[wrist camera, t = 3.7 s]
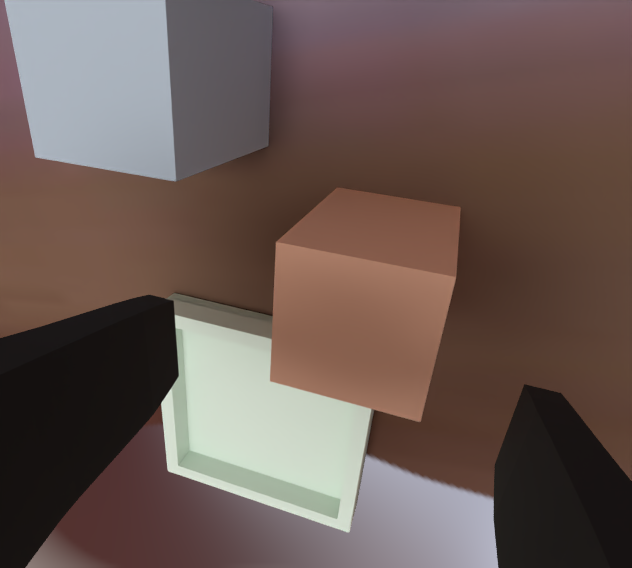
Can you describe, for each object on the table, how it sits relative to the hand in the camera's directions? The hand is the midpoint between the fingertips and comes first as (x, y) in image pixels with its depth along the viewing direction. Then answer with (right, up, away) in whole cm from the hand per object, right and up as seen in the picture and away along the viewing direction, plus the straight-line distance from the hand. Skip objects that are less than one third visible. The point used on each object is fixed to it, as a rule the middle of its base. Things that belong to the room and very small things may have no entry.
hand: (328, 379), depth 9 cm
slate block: (-4, +9, +6) cm, 11 cm away
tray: (-2, -3, +11) cm, 11 cm away
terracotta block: (+2, +3, +6) cm, 7 cm away
